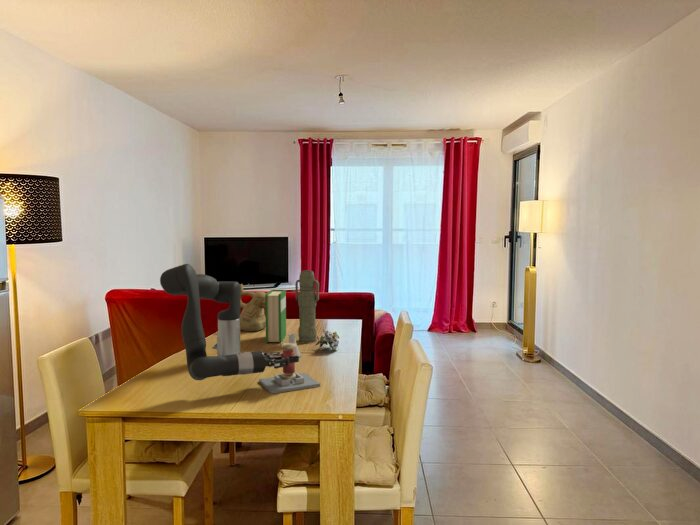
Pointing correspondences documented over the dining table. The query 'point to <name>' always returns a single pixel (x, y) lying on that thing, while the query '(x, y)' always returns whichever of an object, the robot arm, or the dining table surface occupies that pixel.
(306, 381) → the board
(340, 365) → the dining table surface
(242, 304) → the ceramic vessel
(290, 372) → the bobbin
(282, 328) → the hardback book
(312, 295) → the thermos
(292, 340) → the flask
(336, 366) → the dining table surface
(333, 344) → the passion flower
